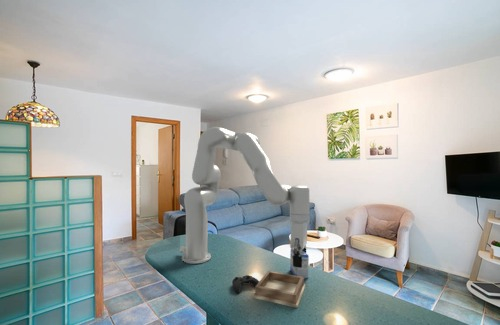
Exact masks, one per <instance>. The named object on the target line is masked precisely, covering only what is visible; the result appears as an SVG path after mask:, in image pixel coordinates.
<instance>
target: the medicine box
mask: <svg viewBox="0 0 500 325" xmlns="http://www.w3.org/2000/svg"><path fill="white" fill-rule="evenodd" d="M293 250H294V248H293V249H291V248H290V256H289V259H290V262H289V268H290V269H289V270H290V272H292V275H295V276H301V277H304V279H308V278H309V263H310V262H309V260H310V259H309V254H307V252H306V253H305V252H304V251H303V250H302V251H301V256H302V267H301V268H299V267H294V266H293ZM298 251H300V250H298Z"/></svg>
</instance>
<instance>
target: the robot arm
mask: <svg viewBox="0 0 500 325" xmlns="http://www.w3.org/2000/svg"><path fill="white" fill-rule="evenodd" d="M197 143H198V144H197V150H196V155H195V159H194V163H193V164H194V165H193V168H192V173H191V179H192V181H193V183H194V184H196V185H199V186H197V187H192V188H190V189H188V190H187V191H186V193H185V195H184V199H183V203H184V209H185V246H182V245H181V246H180V247H179V248H180V249H179V250H178V251H179V253H183V255H182V256H181V261H182V262H183V261H184V263H185V262H186V264H191V265H192V264H194V265H196V264H197V265H198V264H202V263H205V262H206V263H207V262H208V261H210V259H211V258H212V256H211V253H210V252H208V239H209V238H208V235H209V234H208V232H209V224H208V222H209V221H208V218H209V217H208V212H207V208H206V207H208V206H212V205H213V204H214V203H215V201H216V200H217V197H218V192H219V188H220V185H221V184H220V183H221V178H222V173H221V170H220V168H219V166H218V165H216V164H215V162H216V157H217V156H216V155H217V153H216V149H217V148H221V149H227V150H231V151H237V152H238V153H239V154H240V156H241V157H242V158H243V159H244V161H245V163H246V165H247V166H248V167H249V169H250V170H251V173H252V175H253V178H254V180H255V183H256V184H257V187H258V188H259V189H260V191H261V192H262V195H263V196H264V197H265V199H266V200H267V202H268V203H270V204H271V205H272V206H277V207H278V206H279V207H280V206H282V205H283V204H286V203H289V221H290V222H291V226H290V240H289V241H290V250H291V249H293V248H294V250H293V266H294V267H299V268H301V267H302V256H301V251H302V250H303V251H304V252H305V253H306V254H307V243H308V224H309V223H310V222H311V220H310V218H311V217H310V215H311V214H310V210H311V209H310V188H309V186H307V185H288V184H280V182H279V181H278V179H277V177H276V176H275V175H274V173H273V171H272V167H271V160H270V158H269V157H268V156H267V154H266V153H265V151H264V150H263V149H262V146H261V143H260V139H259V138H258V137H257V136H256V135H255V134H252V133H250V132H247V131H245V132H237V131H232V130H229V129H226V128H224V127H220V126H212V127H209V128H207V129H205V130H204V131H203V132H202V133H201V134H200V135H199V138H198V142H197ZM298 250H300V251H298Z"/></svg>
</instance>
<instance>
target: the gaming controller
mask: <svg viewBox="0 0 500 325" xmlns="http://www.w3.org/2000/svg"><path fill="white" fill-rule="evenodd" d="M259 281H260V280H259V279H257V278H255V277H253V276H252V275H249V274H247V275H242V276H235V277H234V278H233V279H232V280H231V282H232V289H233V292H234V293H235V294H237V295H238V294H240V292H241V287H242V286H243V285H246V284H250V285H252V287H254V288H255V287H256V285H257V284H258V283H259Z"/></svg>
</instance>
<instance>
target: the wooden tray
mask: <svg viewBox="0 0 500 325" xmlns="http://www.w3.org/2000/svg"><path fill="white" fill-rule="evenodd" d="M258 281H259V283H258V284H257V285H256V287H254V294H253V295H252V298H253V299H256V300H262V301H265V302H269V303H275V304H278V305H282V306H283V305H284V306H288V307H291V308H296V309H298V308H299V304H300V303H301V300H302V297H303V294H304V291H305V289H306V283H305V278H304V277H301V276H295V275H294V274H290V273H285V272H284V273H283V272H278V271H273V270H267V271H266V272H265V273H264V275H263V276H262V278H261V279H260V280H258Z"/></svg>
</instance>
